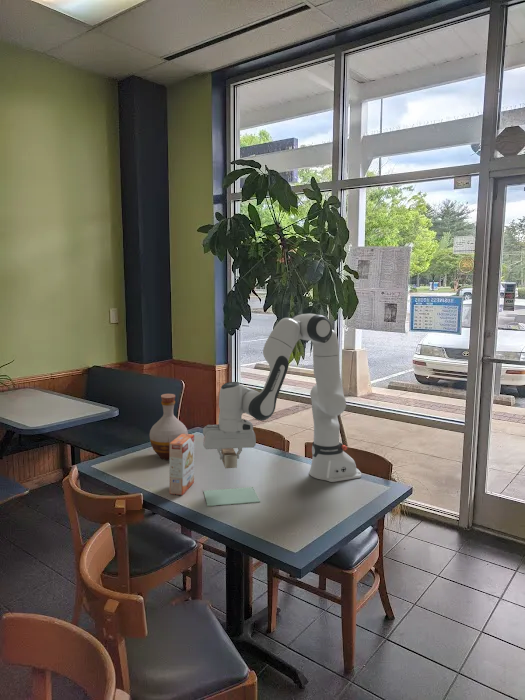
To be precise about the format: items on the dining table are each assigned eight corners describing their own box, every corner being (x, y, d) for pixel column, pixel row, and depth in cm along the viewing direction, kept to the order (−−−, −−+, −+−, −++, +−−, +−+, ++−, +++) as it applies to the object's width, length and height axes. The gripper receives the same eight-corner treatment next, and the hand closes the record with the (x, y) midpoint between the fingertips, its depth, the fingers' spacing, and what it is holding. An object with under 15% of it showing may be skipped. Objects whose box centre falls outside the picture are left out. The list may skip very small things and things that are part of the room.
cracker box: (183, 496, 204) (183, 444, 202) (169, 494, 206) (168, 443, 203) (195, 482, 218) (194, 433, 215) (181, 481, 219) (180, 432, 216)
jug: (147, 451, 256) (146, 391, 252) (184, 448, 262) (183, 389, 258) (151, 465, 238) (150, 400, 234) (191, 461, 243) (190, 398, 239)
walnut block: (232, 446, 211) (237, 456, 200) (232, 457, 212) (236, 467, 200) (221, 447, 210) (225, 457, 199) (221, 457, 211) (225, 468, 199)
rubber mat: (252, 488, 213) (252, 487, 213) (260, 502, 199) (260, 501, 199) (203, 491, 209) (203, 490, 209) (207, 506, 195) (207, 505, 195)
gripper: (203, 427, 197) (203, 462, 199) (257, 425, 201) (256, 460, 203) (202, 422, 203) (201, 457, 205) (254, 421, 207) (253, 455, 209)
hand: (229, 458), depth 204 cm, fingers closed on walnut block, 4 cm apart
